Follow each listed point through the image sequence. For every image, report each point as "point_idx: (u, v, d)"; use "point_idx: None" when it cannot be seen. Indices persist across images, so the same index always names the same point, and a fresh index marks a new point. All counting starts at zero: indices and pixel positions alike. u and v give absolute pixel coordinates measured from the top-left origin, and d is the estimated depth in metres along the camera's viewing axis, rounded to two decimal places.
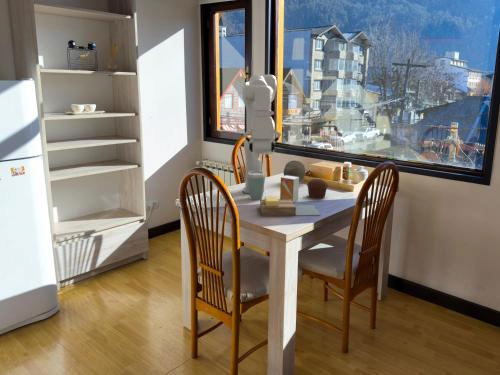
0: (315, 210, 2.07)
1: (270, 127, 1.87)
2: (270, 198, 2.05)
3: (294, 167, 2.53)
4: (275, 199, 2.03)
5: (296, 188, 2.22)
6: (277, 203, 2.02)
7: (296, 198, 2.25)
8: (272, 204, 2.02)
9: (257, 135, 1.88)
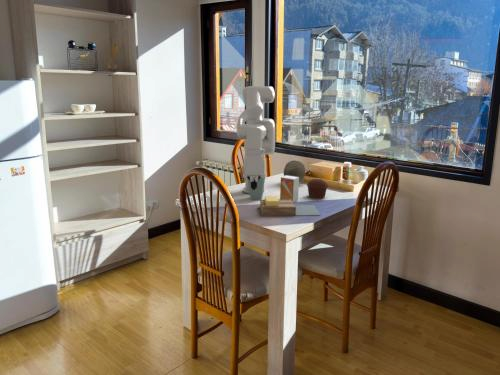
0: (315, 210, 2.07)
1: (261, 164, 1.98)
2: (270, 198, 2.05)
3: (294, 167, 2.53)
4: (275, 199, 2.03)
5: (296, 188, 2.22)
6: (277, 203, 2.02)
7: (296, 198, 2.25)
8: (272, 204, 2.02)
9: (249, 172, 1.99)
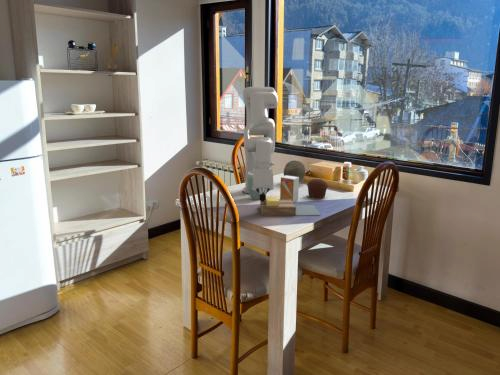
0: (315, 210, 2.07)
1: (270, 177, 2.00)
2: (270, 198, 2.05)
3: (294, 167, 2.53)
4: (276, 199, 2.03)
5: (296, 188, 2.22)
6: (277, 203, 2.02)
7: (296, 198, 2.25)
8: (272, 204, 2.02)
9: (258, 185, 2.01)
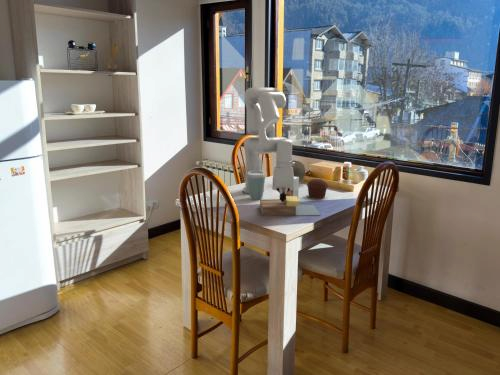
0: (315, 210, 2.07)
1: (290, 176, 2.01)
2: (290, 198, 2.06)
3: (294, 167, 2.53)
4: (296, 200, 2.03)
5: (296, 188, 2.22)
6: (297, 203, 2.02)
7: None
8: (292, 204, 2.02)
9: (279, 184, 2.02)
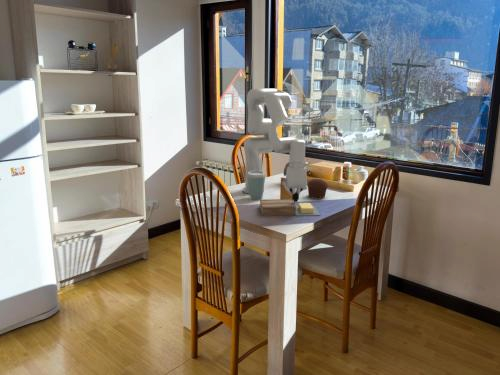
0: (315, 210, 2.07)
1: (304, 177, 2.02)
2: None
3: None
4: None
5: (296, 188, 2.22)
6: (302, 210, 2.03)
7: None
8: (308, 209, 2.03)
9: (292, 185, 2.02)
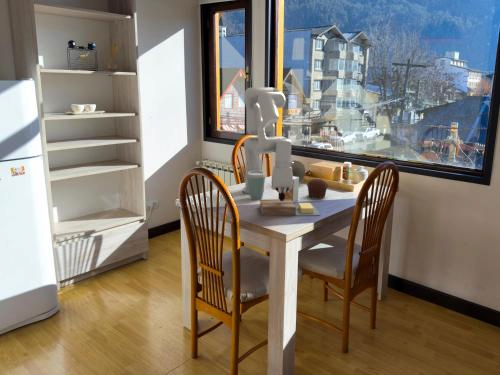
0: (315, 210, 2.07)
1: (289, 176, 2.01)
2: None
3: (294, 167, 2.53)
4: None
5: (296, 188, 2.22)
6: (302, 210, 2.03)
7: (296, 198, 2.25)
8: (308, 209, 2.03)
9: (278, 184, 2.02)
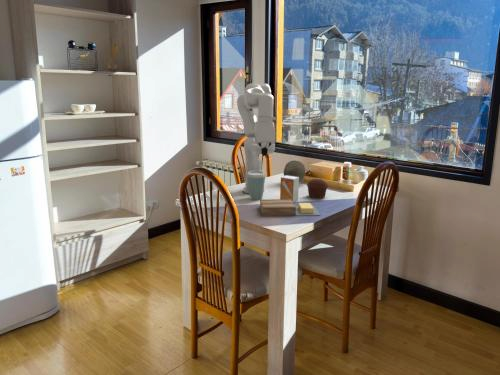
0: (315, 210, 2.07)
1: (272, 131, 2.07)
2: None
3: (294, 167, 2.53)
4: None
5: (296, 188, 2.22)
6: (302, 210, 2.03)
7: (296, 198, 2.25)
8: (308, 209, 2.03)
9: (260, 139, 2.08)
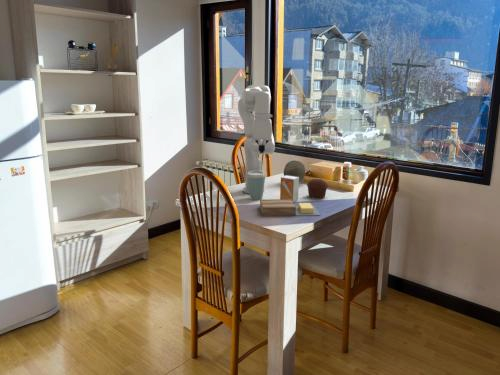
0: (315, 210, 2.07)
1: (269, 128, 2.08)
2: None
3: (294, 167, 2.53)
4: None
5: (296, 188, 2.22)
6: (302, 210, 2.03)
7: (296, 198, 2.25)
8: (308, 209, 2.03)
9: (257, 136, 2.09)
